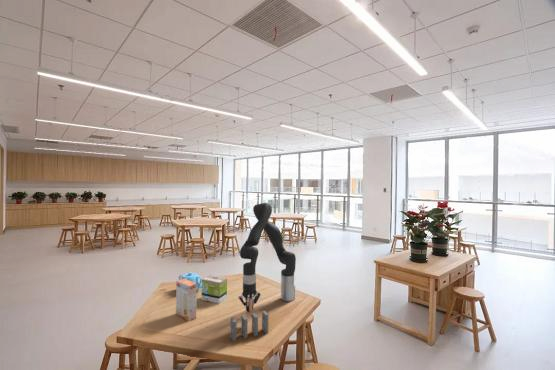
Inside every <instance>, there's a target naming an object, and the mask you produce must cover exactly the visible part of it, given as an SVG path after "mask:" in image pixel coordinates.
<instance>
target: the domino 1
mask: <svg viewBox="0 0 555 370" xmlns="http://www.w3.org/2000/svg"><path fill="white" fill-rule="evenodd" d="M230 338H231V341H232V342H233V343H234V342H237V320H236V318H235V317H230Z"/></svg>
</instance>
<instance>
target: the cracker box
mask: <svg viewBox="0 0 555 370" xmlns="http://www.w3.org/2000/svg"><path fill="white" fill-rule="evenodd" d="M175 284H176V289H175V290H176V291H175V292H176V295H175V314H176V315H177V316H178V315H179V317H180V316H181V317H180V318H182V319H183V318H184V319H183V320H185V321H187V322H189V321H192V320H195V319H196V318H197V291H198V290H197V284H196V283H194V282H191V281H189V280H186V279H182V280H179V279H178V280H176V283H175Z"/></svg>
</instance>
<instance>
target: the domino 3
mask: <svg viewBox="0 0 555 370" xmlns="http://www.w3.org/2000/svg"><path fill="white" fill-rule="evenodd" d="M253 311H254V308H253V309H252V298H249V312H247V311H246V314H247V316H248V317H249V318H252V313H254V312H253Z"/></svg>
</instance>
